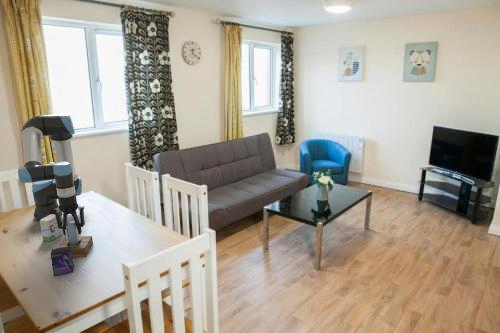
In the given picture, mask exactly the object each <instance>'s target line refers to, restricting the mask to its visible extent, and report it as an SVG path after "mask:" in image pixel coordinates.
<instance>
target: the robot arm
mask: <svg viewBox="0 0 500 333" xmlns="http://www.w3.org/2000/svg"><path fill="white" fill-rule="evenodd" d="M20 132H21V133H20V135H21V139H23V166H22V167H19V168H18V169H17V176H18V179H19V182H20V183H22V184H29V183H30V184H31V183H32V184H31V192H32V195H33V196H32V197H33V202H34V206H35V207H34V211H33V212H34V213H33V219H34V221H37V222H40V220H41V219H43V218H45V217H47V216H49V215H51V214H55V216H56V220H57V225H58V228H59V229H61V230H62V234H63V235H64V236H65V238H67V242H69V236H68V230H67V224H66V223H67V222H68V215H71V217H72V219H73V221H75V224H76V227H77V228H76V235H77V241H80V239H81V234H82V232H83V231H82V228H83V227H84V226H85V225H86V221H85V213H84V211H85V206H84V205H82V206H81V205H79V203H78V200H77V197H78V196H80V195H82V192H83V185H82V184H83V183H82V177H81V176H79V174H77V173H76V171H75V170H76V168H75V163H74V162H75V161H74V157H73V149H72V142H71V139H73V135H75V133H76V132H75V127H74V124H73V121H72V118H71V116H70V114H68V113H57V114H55V113H53V114H38V115H35V116H32V117H31V118H29V119H28V120H27V121H26V122H25V123H24V124H23V125H22V127H21V131H20ZM43 137H49V139H50V140H51V141H52V142H53V146H54V148H53V149H54V152H55V158H56V163H49V164H43V159H42V158H43V155H42V139H43ZM77 210H78V211H79V216H78V213H77Z"/></svg>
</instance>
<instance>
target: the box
mask: <svg viewBox="0 0 500 333" xmlns="http://www.w3.org/2000/svg"><path fill="white" fill-rule="evenodd" d="M50 260H51V267H52V272H53V273H52V274H53V276H54V277H56V276H60V275H67V274H72V273H74V268H75V263H74V262H75V261H74V259H73V254H72V247H71V246H68V247H62V248H58V247H56V248H52V249H51V251H50Z"/></svg>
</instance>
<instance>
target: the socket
mask: <svg viewBox="0 0 500 333" xmlns="http://www.w3.org/2000/svg"><path fill="white" fill-rule="evenodd" d="M80 237H81V239H80V241H79V245H72V246H71V247H72V254H73V260H74V259H83V258H84V259H85V258H87V257H88V256H89V253H90V251H91V249H92V248H93V246H94V241H93V235H86V236H85V235H84V236H83V235H82V236H81V235H80ZM68 246H70V242H67V238H66V237H64V238H63V239H62V241H61V242H60V244H59V245H58V246H57V248H62V247H68Z"/></svg>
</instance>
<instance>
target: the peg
mask: <svg viewBox="0 0 500 333" xmlns="http://www.w3.org/2000/svg"><path fill="white" fill-rule="evenodd" d="M66 224H67V230H68V236H69V242H70V246H72V245H79V241H77V235H76V228H77V226H76V224H75V221H74V220H70V221H67V223H66Z"/></svg>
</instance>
